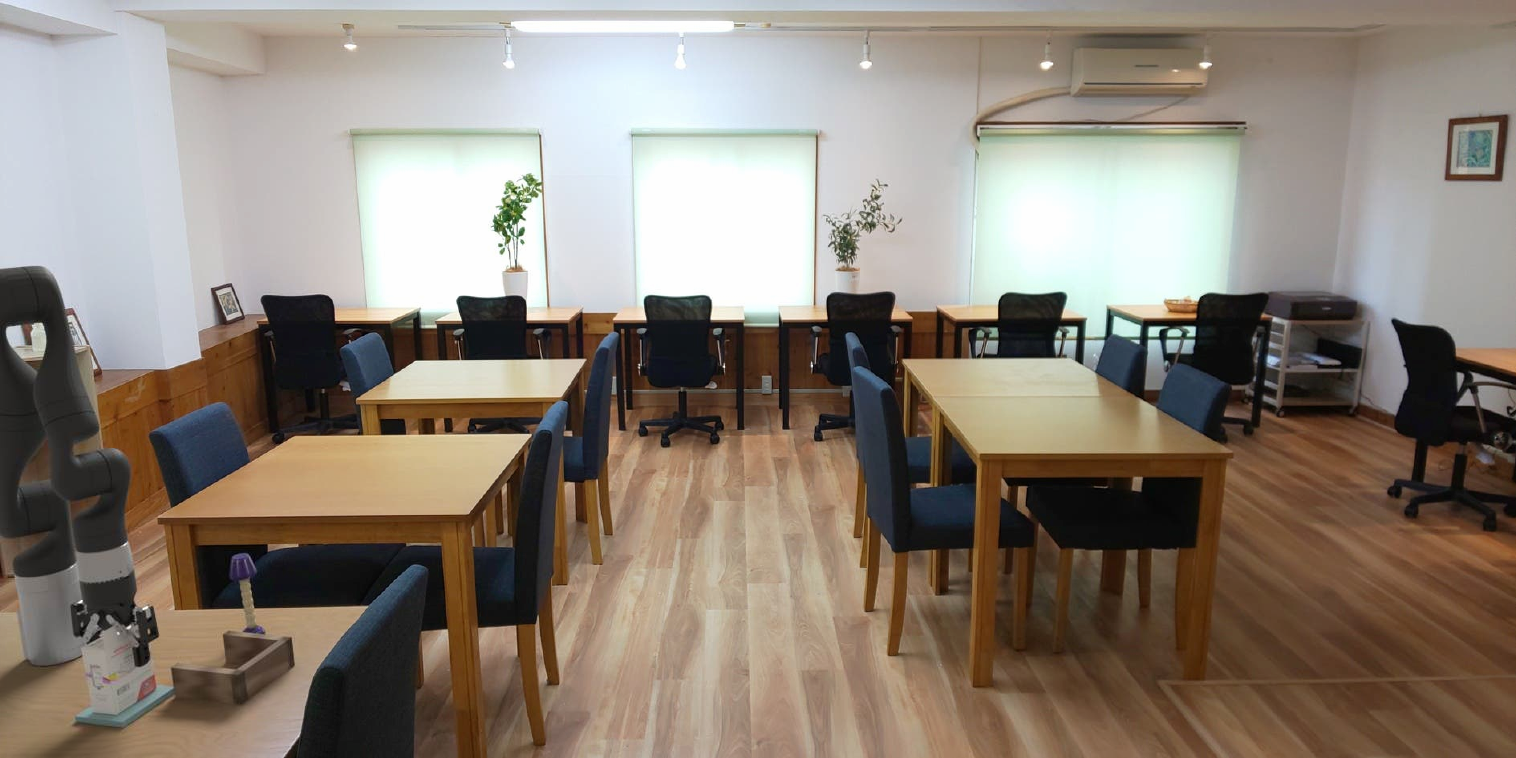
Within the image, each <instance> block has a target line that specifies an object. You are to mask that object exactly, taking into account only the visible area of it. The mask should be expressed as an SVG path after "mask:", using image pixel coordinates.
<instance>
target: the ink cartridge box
mask: <svg viewBox="0 0 1516 758" xmlns="http://www.w3.org/2000/svg"><path fill="white" fill-rule="evenodd" d="M132 627H134V625H133V623H131V625H130V626H129V627H127V629H131V628H132ZM134 634H135V636H136V637H137V638H139V637H140V636H139V635H138V634H137V633H136V632H134ZM101 636H102V637H101V638H99V639H97V640H95V641H93V642H91V643H89V644H87V645H86V646H84V647H82V648H81V650H82V655H81V656H82V661H83V666H84V672H85V677H86V681H87V688H88V694H89V698H90V704H91V706H92V711H93V712H94V713H103V714H112V715H117V714H119V713H121V712H122V711H124V710H125V709H127V708H128V707H130V706H131V705H133V704H134V703H136V702H137V701H139V700H140V699H142V698H143V697H145V696H147V695H148V694H150V693H151V692H153V691H154V690H155V689H156V685H157V682H156V675H155V670H154V669H155V668H154V662H153V658H152V651H151V642H150V643H148V645H149V652H150V660H149V662H148V663H147V664H145V665H144V666H142V667H135V663H134V657H133V650H132V647H134V646H133V645H132V644H131V642H130V641H129V640H128V639H127V638H123V637H122V636H121V635H120V633H119V632H117V630H116V628H115V627H114V626H113V627H111V628H109V629H107V630H105V631H103V632H102V634H101Z"/></svg>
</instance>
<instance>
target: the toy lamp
mask: <svg viewBox="0 0 1516 758" xmlns="http://www.w3.org/2000/svg"><path fill="white" fill-rule="evenodd" d="M257 573H258V571H257V568H256V566H255V564H254V562H253V559H252V557H251V556H250V554H248V553H247V552H243V553H242V552H241V553H238V554H235V555H232V556H231V560H230V567H229V579H230V580H232V581H238V583H239V584H240V585H239V589H240V591H241V593H240V595H241V598H242V605H243V612H244V618H245V621H246V623H245V624H246V627H245V628H244V629H243V630H242V631H241V632H246V633H256V634H265V635H266V630H265V629H264V628H263V626H261V625H259V624H258V623H257V620H256V613H255V606H254V599H253V597H252V596H253V593H252V590H251V587H252V585H251V583H250V578H252V577H255V575H257Z"/></svg>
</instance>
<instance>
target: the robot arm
mask: <svg viewBox="0 0 1516 758" xmlns="http://www.w3.org/2000/svg"><path fill="white" fill-rule="evenodd" d="M64 302H65V301H64V298H63V295H62V292H61V289H60V286H59V284H58V281H57V279H56V278H55V275H54V274H53V273H52V271H50V269H48V268H47V267H45V266H42V265H30V266H29V265H27V266H26V265H25V266H18V267H17V266H15V267H5V268H0V536H1V537H2V538H4V539H6V540H7V539H10V540H11V539H21V538H23V537H24V538H25V537H29V536H33V535H38V534H42V533H45V535H44V536H43V537H41V539H39V540H38V541H37V542H36V543H34V544H33V545H31V546H29V547H27V548H25V549H23V550H22V551H20V552H19V553H17V554H16V555H15V556H14V557H13V559H12V570H13V575H14V581H15V585H16V586H15V587H16V592H17V597H18V603H19V608H20V609H18V610H17V611H16V616H17V620H18V621H17V623H18V628H19V632H20V633H19V634H20V639H21V644H22V651H23V656H24V660H27V661H29V663H30V664H32V665H35V666H42V667H43V666H51V665H59V664H63V663H66V662H70V661H71V660H74V659H77V658H79V657H81V656H82V650H81V648H82V647H84V646H86V645H87V644H89V643H91V642H93V641H95V640H97V639H99V638H101V637H102V632H103V631H105V630H107V629H109V628H111V627H113V626H114V627H115V628H116V630H117V632H119V633H120V635H121V636H122V637H123V638H127V639H128V640H129V641H130V642H131V644H132V645H133V646H134V647H132V650H133V657H134V663H135V667H142V666H144V665H145V664H147V663H148V662H149V660H150V652H149V645H148V643H150V644H151V642H153V641H155V640H157V639H159V638H160V633H159V628H158V621H157V619H156V612H155V609H154V606H153V605H152V604H150V603H149V604H148V605H145V606H138V605H137V604H136V601H135V597H136V594H137V592H138V588H137V579H136V574H135V567H134V558H133V553H132V549H131V547H130V543H129V539H128V533H127V525H126V510H127V509H126V508H127V502H128V496H129V491H130V485H131V480H132V467H131V464H130V460H129V458H128V456H127V455H126V454H125V453H124V452H122V451H121V450H119V449H117V448H115V447H114V448H113V447H109V448H102V449H97V450H94V451H89V452H83V453H80V454H75V453H74V446H76V445H77V444H81V443H82V442H84V441H88V440H90V439H91V438H94V437H95V436H96V435H97V434H98V433H99V432H100V427H101V426H100V422H99V419H98V417H97V414H96V413H95V410H94V406H93V404H92V402H91V400H90V397H89V394H88V392H87V390H86V386H85V384H84V381H83V379H82V374H81V371H80V367H79V364H78V363H79V362H78V358H77V353H76V349H75V343H74V340H73V335H72V331H71V326H70V323H69V322H70V321H69V319H68V314H67V309H66V306H65V303H64ZM33 324H42V326H43V328H44V329H43V330H44V332H45V347H44V348H45V349H44V353H43V357H42V360H41V362H40V366H39V368H38V370H37V371H36V370H35V369H34V367H32V366H31V365H30V364H29V363H27V361H25V360H24V359H23V358H22V357H21V356H20V355H19V354H18V353H17V351H16V350H15V349H14V348H13V347H12V345H11V344H10V342H9V339H8V336H7V329H8V327H9V328H10V327H16V326H17V327H18V326H25V325H33ZM46 441H47V445H48V451H49V477H50V478H49V479H44V480H38V481H32V482H28V483H23V484H20V482H21V479H22V475H23V474H24V471H25V468H26V467H27V466H28V464H29V463H30V461H31V460H32V459H33V457H34V456H35V455H36V454H37V452H38V451H39V450H40V448H42V446H43V445H44V443H45V442H46ZM97 496H99V497H98V500H97V502H95V503H94V504H93V505H91V506H90V507H88V508H86V509H83V510H82V511H80V512H78V513H77V514H75V516H73V518H72V516H71V515H72V514H71V504H70V502H77V501H82V500H85V499H90V498H93V497H97ZM131 623H133V625H134V627H132V628H131V629H127V627H129V626H131ZM134 632H136V633H137V634H138V635H139V636H140V637H139V638H137V637H136V636H135V634H134Z"/></svg>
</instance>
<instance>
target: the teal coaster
mask: <svg viewBox="0 0 1516 758" xmlns="http://www.w3.org/2000/svg"><path fill="white" fill-rule="evenodd" d="M173 695H175V693H174V686H170V685H169V686H168V685H160V684H156V689H155V690H154V691H153V692H151V693H150V694H148V695H147V696H145V697H143V698H142V699H140V700H139V701H137V702H136V703H134V704H133V705H131V706H130V707H128V708H127V709H125V710H124V711H122V712H121V713H119V714H117V715H112V714H103V713H94V712H93V711H92V705H91V706H90V707H88V708H86V709H84V710H82V711H81V712H79V713H78V714H76V715H75V716H74V717H75V722H76V723H84V724H92V725H98V726H106V727H107V726H108V727H113V728H122V729H123V728H125V727H127V726H128V725H129V724H131V723H133V722H134V721H135V720H137V719H138V718H140V717H141V716H143V715H144V714H146V713H148V712H149V711H151V710H152V709H153V708H155V707H157V706H158V705H159V704H161V703H163V702H164V701H165V700H167V699H168V698H170V697H171V696H173Z"/></svg>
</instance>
